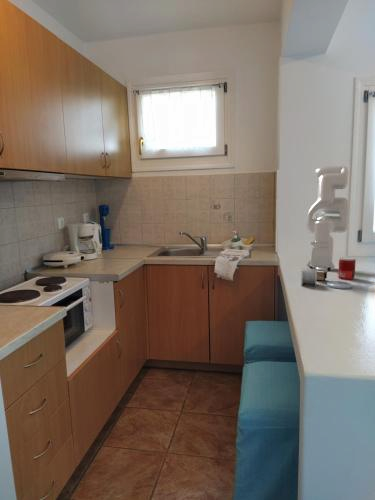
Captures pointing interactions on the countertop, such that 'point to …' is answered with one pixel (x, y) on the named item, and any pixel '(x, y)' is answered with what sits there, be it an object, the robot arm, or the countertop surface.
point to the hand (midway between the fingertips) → (319, 279)
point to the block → (320, 276)
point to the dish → (339, 285)
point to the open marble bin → (309, 276)
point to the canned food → (346, 268)
